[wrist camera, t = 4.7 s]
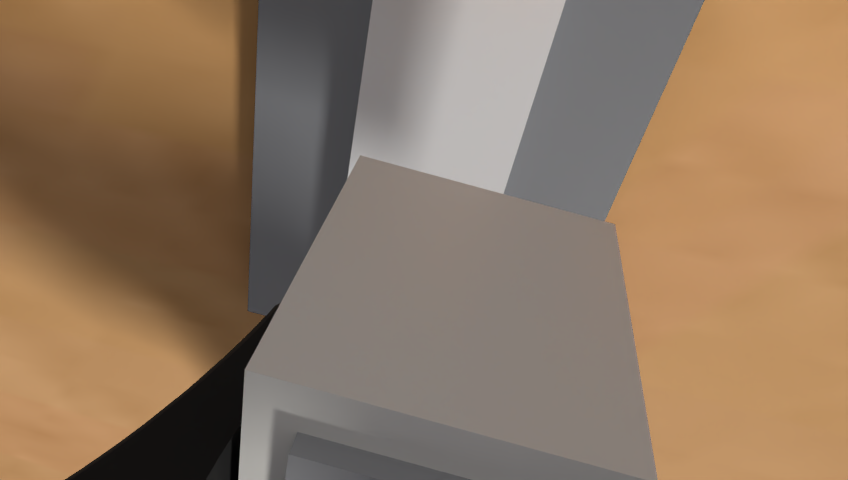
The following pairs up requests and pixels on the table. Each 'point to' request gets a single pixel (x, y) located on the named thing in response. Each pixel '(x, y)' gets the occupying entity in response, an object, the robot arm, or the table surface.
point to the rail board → (448, 104)
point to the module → (448, 344)
